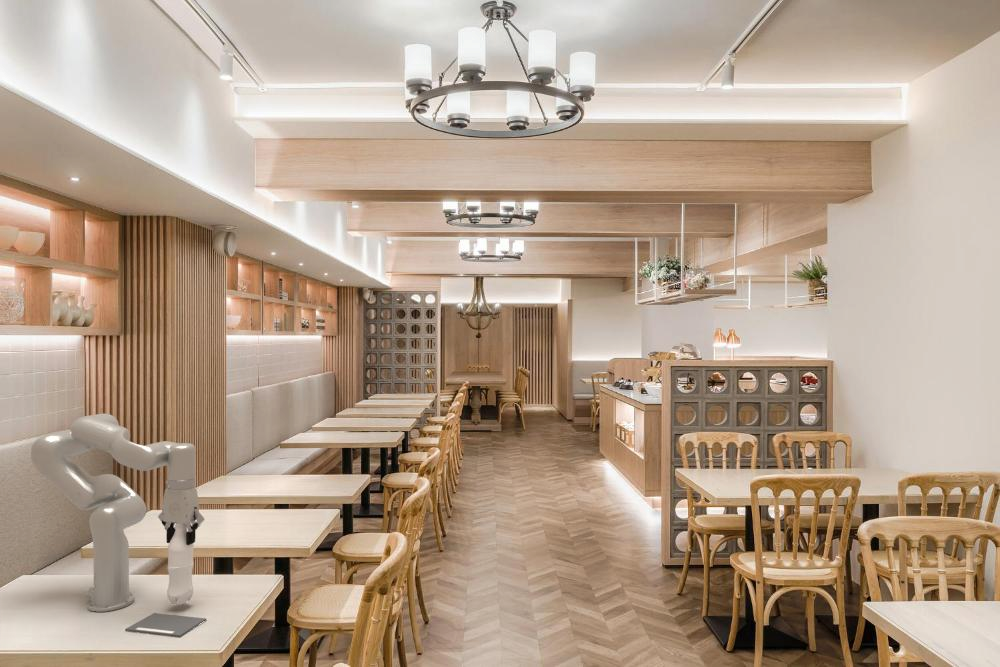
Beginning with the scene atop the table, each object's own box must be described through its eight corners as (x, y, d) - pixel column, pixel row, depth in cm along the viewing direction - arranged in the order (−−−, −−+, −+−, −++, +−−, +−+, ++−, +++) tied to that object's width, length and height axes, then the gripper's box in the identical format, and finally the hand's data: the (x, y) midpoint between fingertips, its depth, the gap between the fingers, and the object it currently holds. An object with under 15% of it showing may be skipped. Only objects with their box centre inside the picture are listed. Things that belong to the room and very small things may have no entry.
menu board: (125, 631, 186) (125, 628, 186) (154, 614, 197) (154, 612, 197) (180, 637, 182) (180, 635, 182) (206, 620, 193) (206, 618, 193)
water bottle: (182, 607, 197) (183, 524, 197) (161, 605, 199) (162, 522, 199) (198, 597, 204) (199, 517, 204) (177, 595, 206) (178, 516, 206)
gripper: (148, 485, 200) (147, 544, 200) (197, 488, 196) (197, 549, 196) (166, 479, 207) (165, 536, 207) (214, 483, 203) (213, 541, 203)
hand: (180, 542), depth 202 cm, fingers closed on water bottle, 6 cm apart
